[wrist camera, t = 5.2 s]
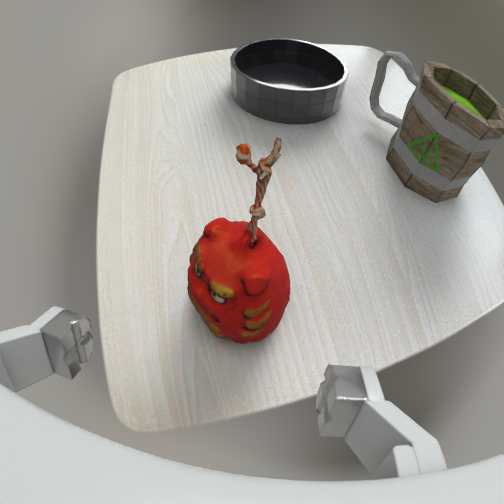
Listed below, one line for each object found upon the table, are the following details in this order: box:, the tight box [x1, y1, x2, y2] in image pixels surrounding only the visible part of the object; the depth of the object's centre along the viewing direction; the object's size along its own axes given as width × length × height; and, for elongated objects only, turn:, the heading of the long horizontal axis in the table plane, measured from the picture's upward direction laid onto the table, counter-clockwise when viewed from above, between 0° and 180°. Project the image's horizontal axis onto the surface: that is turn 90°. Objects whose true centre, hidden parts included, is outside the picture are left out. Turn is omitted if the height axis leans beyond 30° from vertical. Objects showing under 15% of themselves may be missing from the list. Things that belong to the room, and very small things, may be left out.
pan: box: [230, 38, 348, 124], centre depth 34 cm, size 15×15×5 cm
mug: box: [370, 51, 504, 203], centre depth 26 cm, size 16×11×12 cm
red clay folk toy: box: [187, 138, 290, 343], centre depth 17 cm, size 8×7×15 cm
